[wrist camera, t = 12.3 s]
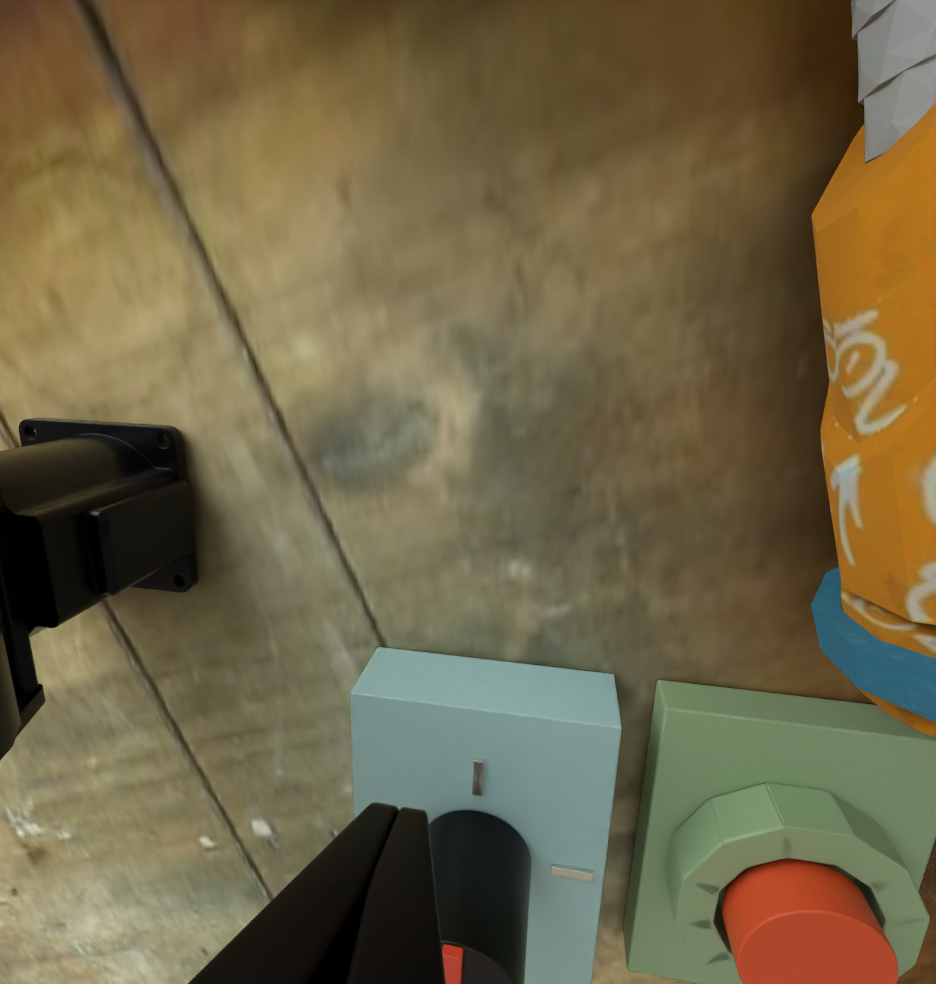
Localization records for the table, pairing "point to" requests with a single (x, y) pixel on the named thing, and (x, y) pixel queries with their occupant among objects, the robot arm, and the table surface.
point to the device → (883, 370)
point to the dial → (481, 897)
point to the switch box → (772, 817)
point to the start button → (804, 927)
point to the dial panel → (502, 774)
